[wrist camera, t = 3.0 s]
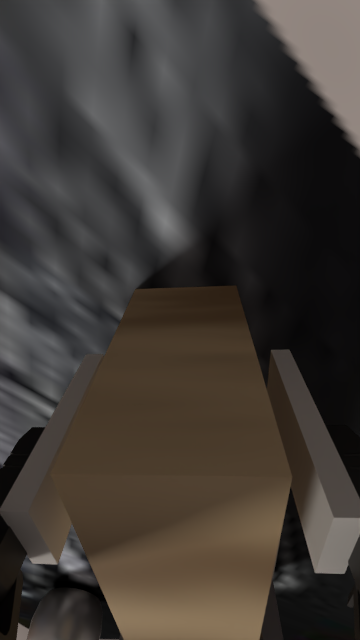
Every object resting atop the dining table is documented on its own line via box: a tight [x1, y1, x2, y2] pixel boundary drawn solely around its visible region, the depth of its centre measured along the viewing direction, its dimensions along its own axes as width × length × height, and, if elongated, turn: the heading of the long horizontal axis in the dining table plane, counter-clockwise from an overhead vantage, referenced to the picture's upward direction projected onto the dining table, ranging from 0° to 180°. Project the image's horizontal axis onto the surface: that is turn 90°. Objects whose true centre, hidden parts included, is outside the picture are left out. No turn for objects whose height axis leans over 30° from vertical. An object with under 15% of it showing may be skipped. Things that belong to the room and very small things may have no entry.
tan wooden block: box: [50, 286, 292, 640], centre depth 14 cm, size 20×4×9 cm, turn 3°
